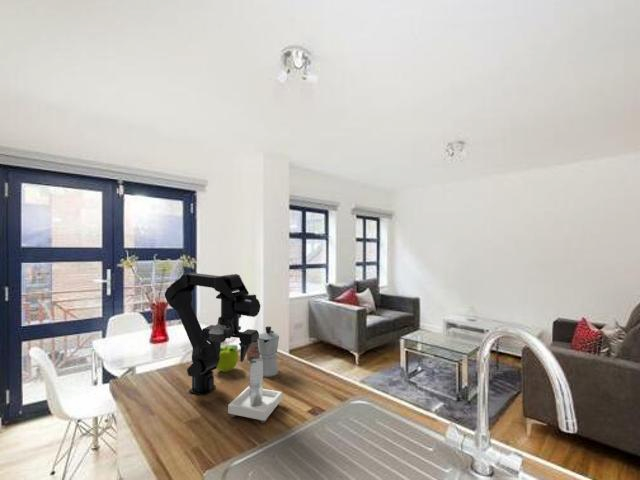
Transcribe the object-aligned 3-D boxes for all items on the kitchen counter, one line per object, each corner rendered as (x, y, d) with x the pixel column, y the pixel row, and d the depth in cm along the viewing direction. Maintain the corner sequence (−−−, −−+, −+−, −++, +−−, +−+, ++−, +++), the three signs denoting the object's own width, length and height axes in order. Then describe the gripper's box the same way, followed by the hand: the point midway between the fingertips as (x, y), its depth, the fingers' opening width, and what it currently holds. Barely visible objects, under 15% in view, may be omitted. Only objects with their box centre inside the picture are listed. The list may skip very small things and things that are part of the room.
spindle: (248, 406, 95) (249, 364, 95) (249, 399, 99) (250, 359, 99) (262, 406, 95) (262, 363, 95) (262, 399, 99) (263, 358, 99)
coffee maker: (276, 379, 118) (276, 332, 118) (253, 379, 118) (253, 331, 118) (281, 363, 133) (282, 321, 133) (261, 362, 133) (261, 320, 133)
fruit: (234, 375, 121) (234, 350, 121) (210, 375, 121) (210, 349, 121) (240, 365, 130) (241, 341, 130) (218, 365, 130) (218, 341, 130)
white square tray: (228, 418, 93) (228, 404, 93) (248, 398, 105) (248, 386, 105) (264, 426, 90) (264, 412, 90) (281, 404, 101) (281, 391, 101)
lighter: (247, 360, 135) (247, 337, 135) (245, 358, 138) (245, 335, 138) (265, 357, 139) (265, 335, 138) (263, 354, 142) (263, 332, 142)
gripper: (189, 316, 99) (189, 365, 99) (242, 322, 93) (241, 374, 94) (211, 308, 109) (211, 352, 110) (259, 313, 104) (259, 359, 104)
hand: (229, 359), depth 104 cm, fingers open, 9 cm apart
